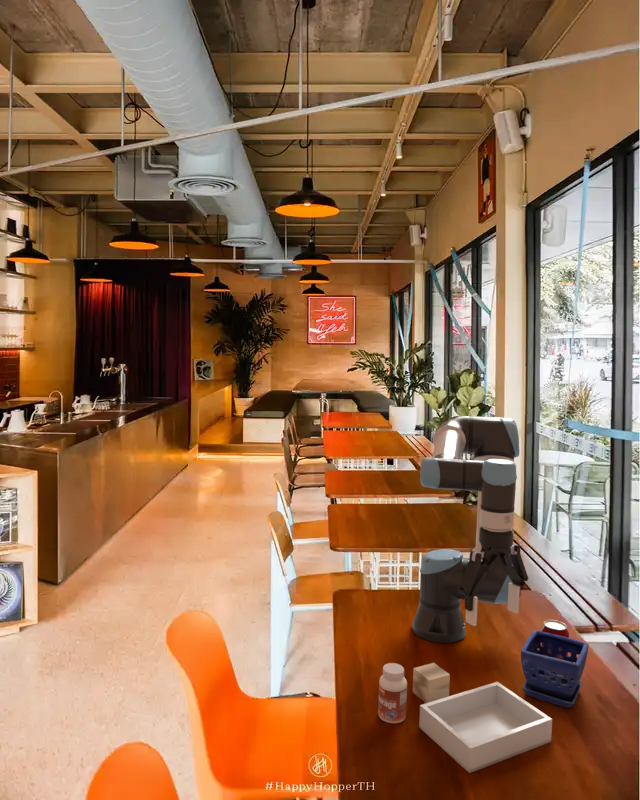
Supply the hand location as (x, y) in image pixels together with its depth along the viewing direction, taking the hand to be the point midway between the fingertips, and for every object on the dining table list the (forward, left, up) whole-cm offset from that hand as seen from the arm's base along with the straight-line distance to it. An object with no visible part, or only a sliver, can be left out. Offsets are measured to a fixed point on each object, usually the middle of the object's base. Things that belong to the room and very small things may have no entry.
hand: (492, 617), depth 142 cm
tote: (+10, -10, -20) cm, 24 cm away
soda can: (-3, +25, -20) cm, 32 cm away
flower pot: (+5, +16, -20) cm, 26 cm away
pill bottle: (-4, -24, -20) cm, 32 cm away
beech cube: (-7, -11, -20) cm, 24 cm away
